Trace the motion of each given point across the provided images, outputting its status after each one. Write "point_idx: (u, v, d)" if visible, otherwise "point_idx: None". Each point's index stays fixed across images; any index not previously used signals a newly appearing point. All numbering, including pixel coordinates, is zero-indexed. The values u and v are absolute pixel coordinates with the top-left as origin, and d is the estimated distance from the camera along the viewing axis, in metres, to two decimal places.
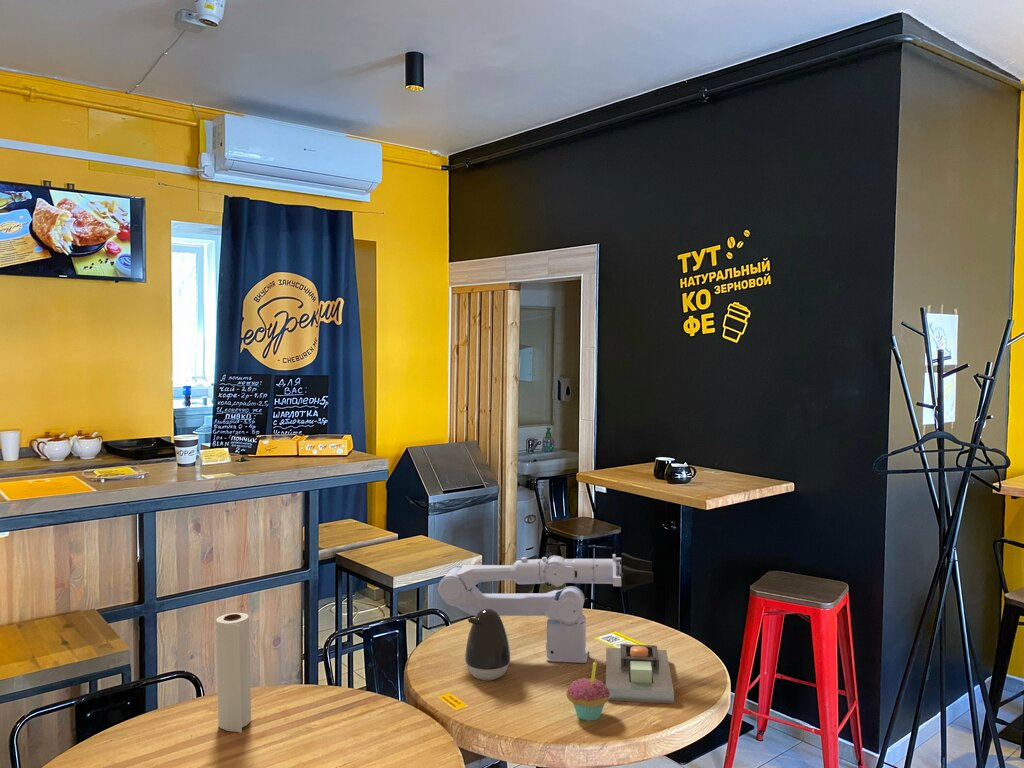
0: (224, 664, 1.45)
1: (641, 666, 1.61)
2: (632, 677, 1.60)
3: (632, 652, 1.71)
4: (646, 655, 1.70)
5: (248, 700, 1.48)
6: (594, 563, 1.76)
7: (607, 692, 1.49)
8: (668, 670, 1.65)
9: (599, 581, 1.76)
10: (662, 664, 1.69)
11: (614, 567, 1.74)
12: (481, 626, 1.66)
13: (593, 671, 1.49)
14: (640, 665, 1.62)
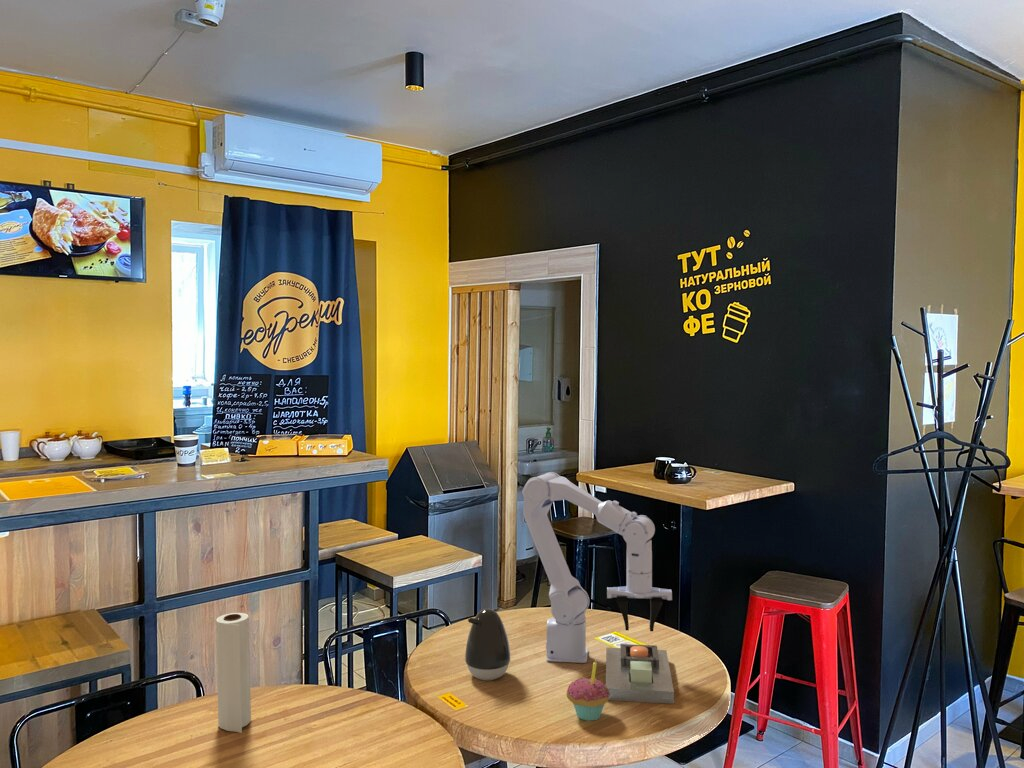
0: (224, 664, 1.45)
1: (641, 666, 1.61)
2: (632, 677, 1.60)
3: (632, 652, 1.71)
4: (646, 655, 1.70)
5: (248, 700, 1.48)
6: (632, 573, 1.69)
7: (607, 692, 1.49)
8: (668, 670, 1.65)
9: None
10: (662, 664, 1.69)
11: (624, 593, 1.69)
12: (481, 626, 1.66)
13: (593, 671, 1.49)
14: (640, 665, 1.62)
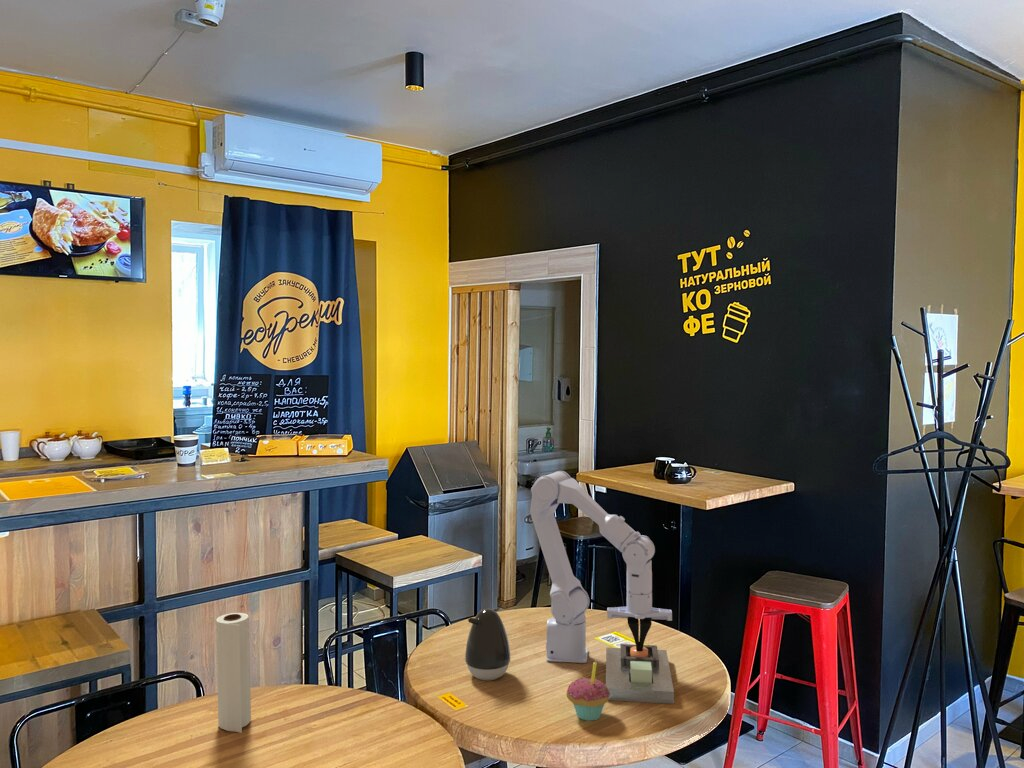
0: (224, 664, 1.45)
1: (641, 666, 1.61)
2: (632, 677, 1.60)
3: (632, 652, 1.71)
4: (646, 655, 1.70)
5: (248, 700, 1.48)
6: (632, 594, 1.69)
7: (607, 692, 1.49)
8: (668, 670, 1.65)
9: None
10: (662, 664, 1.69)
11: (624, 614, 1.70)
12: (481, 626, 1.66)
13: (593, 671, 1.49)
14: (640, 665, 1.62)
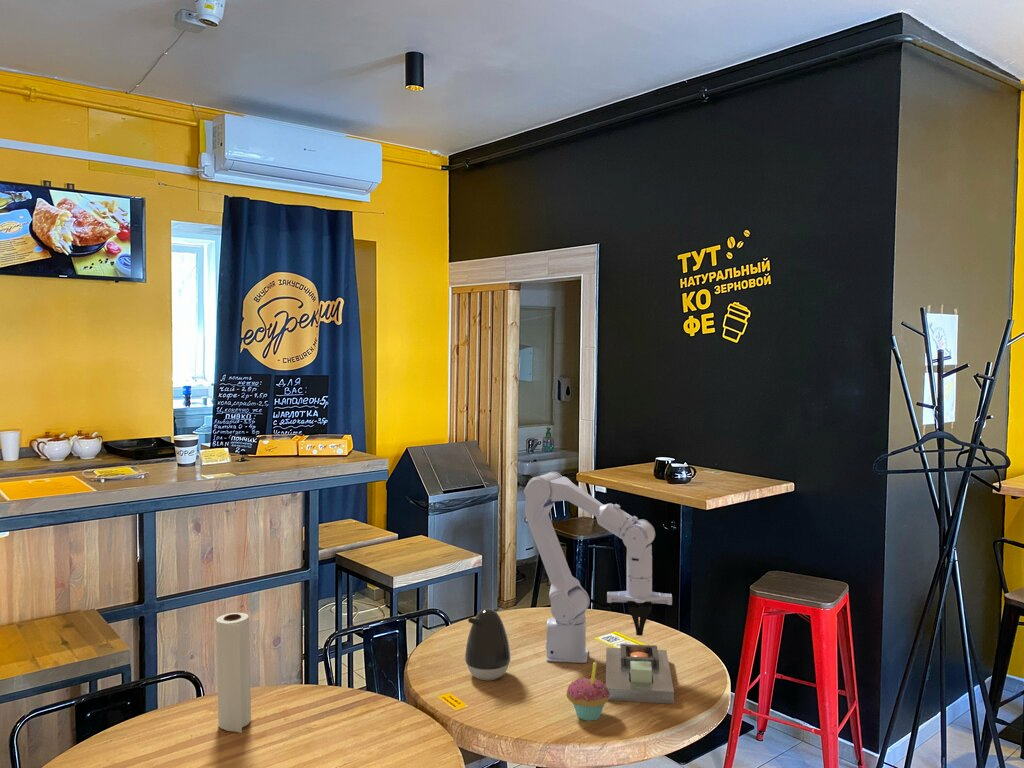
0: (224, 664, 1.45)
1: (641, 666, 1.61)
2: (632, 677, 1.60)
3: None
4: None
5: (248, 700, 1.48)
6: (632, 578, 1.69)
7: (607, 692, 1.49)
8: (668, 670, 1.65)
9: None
10: (662, 664, 1.69)
11: (624, 598, 1.69)
12: (481, 626, 1.66)
13: (593, 671, 1.49)
14: (640, 665, 1.62)
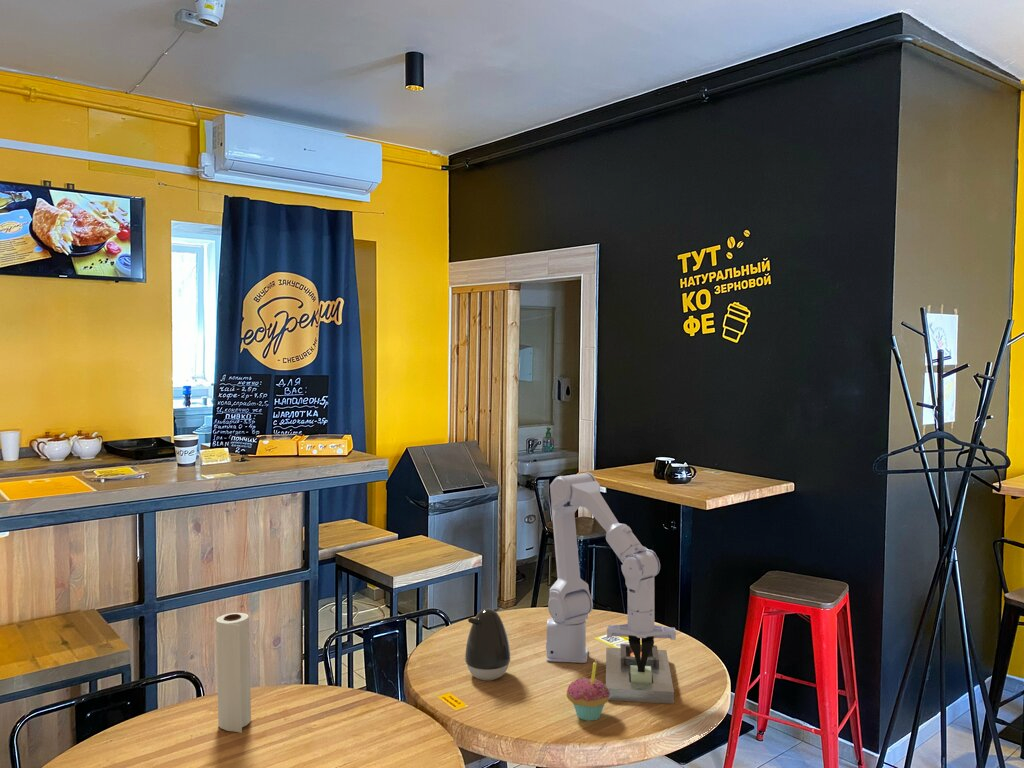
0: (224, 664, 1.45)
1: None
2: None
3: None
4: None
5: (248, 700, 1.48)
6: (633, 611, 1.59)
7: (607, 692, 1.49)
8: (668, 670, 1.65)
9: None
10: (662, 664, 1.69)
11: (625, 632, 1.60)
12: (481, 626, 1.66)
13: (593, 671, 1.49)
14: None
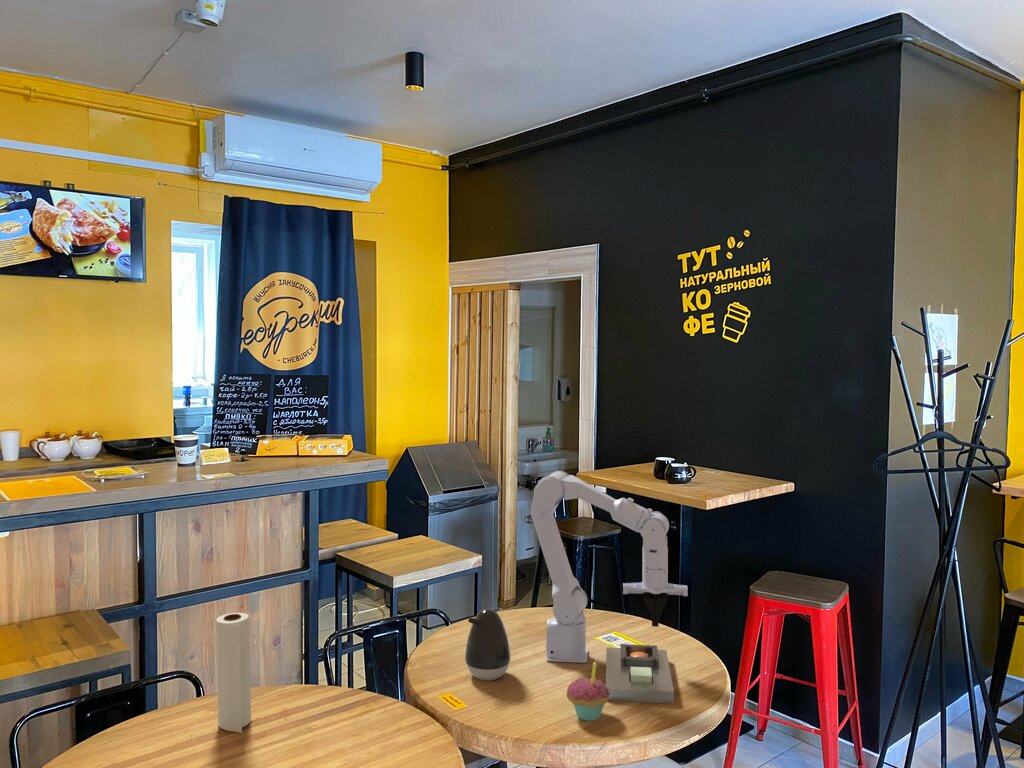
0: (224, 664, 1.45)
1: (641, 672, 1.61)
2: None
3: None
4: None
5: (248, 700, 1.48)
6: (648, 569, 1.70)
7: (607, 692, 1.49)
8: (668, 670, 1.65)
9: None
10: (662, 664, 1.69)
11: (640, 589, 1.71)
12: (482, 626, 1.66)
13: (593, 671, 1.49)
14: (640, 671, 1.62)
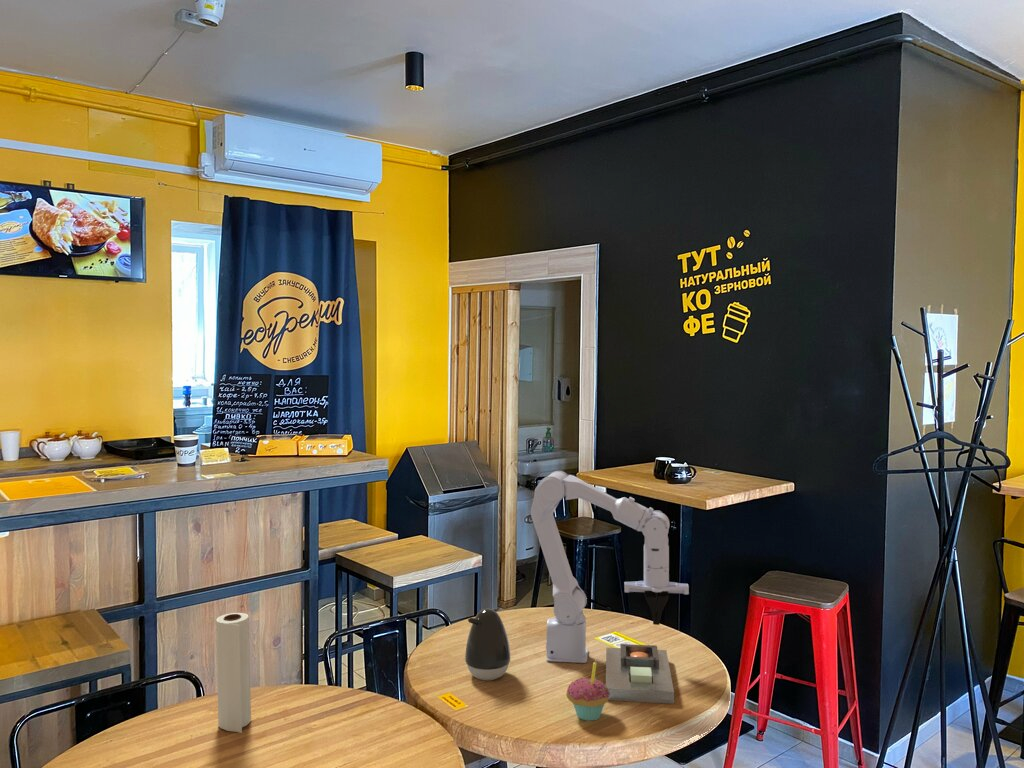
0: (224, 664, 1.45)
1: (641, 672, 1.61)
2: None
3: None
4: None
5: (248, 700, 1.48)
6: (649, 568, 1.71)
7: (607, 692, 1.49)
8: (668, 670, 1.65)
9: None
10: (662, 664, 1.69)
11: (642, 587, 1.72)
12: (481, 626, 1.66)
13: (593, 671, 1.49)
14: (640, 671, 1.62)
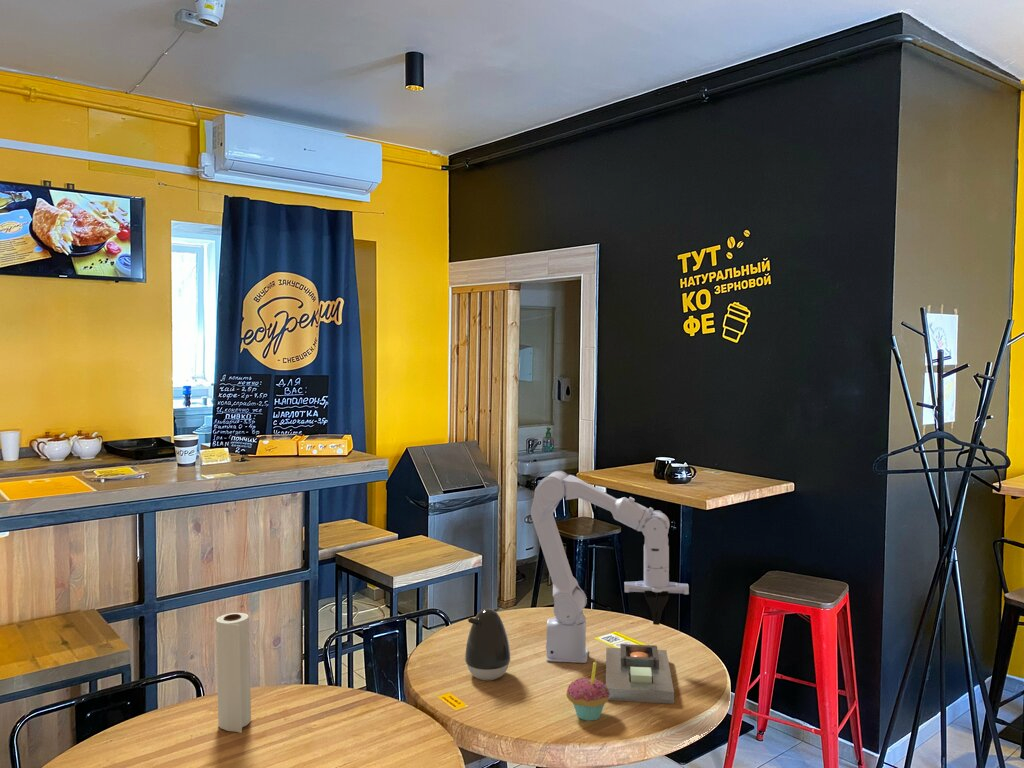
0: (224, 664, 1.45)
1: (641, 672, 1.61)
2: None
3: None
4: None
5: (248, 700, 1.48)
6: (649, 568, 1.71)
7: (607, 692, 1.49)
8: (668, 670, 1.65)
9: None
10: (662, 664, 1.69)
11: (642, 587, 1.72)
12: (481, 626, 1.66)
13: (593, 671, 1.49)
14: (640, 671, 1.62)
